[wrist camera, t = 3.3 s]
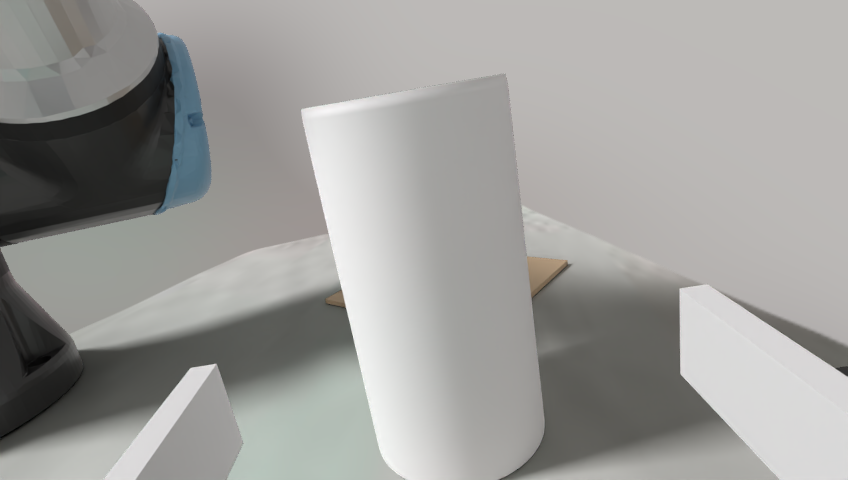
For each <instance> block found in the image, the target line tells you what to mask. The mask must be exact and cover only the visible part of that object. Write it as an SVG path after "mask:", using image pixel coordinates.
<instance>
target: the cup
mask: <svg viewBox="0 0 848 480" xmlns="http://www.w3.org/2000/svg"><path fill="white" fill-rule="evenodd" d="M301 114H302V121H303V125H304V130H305V134H306V138H307V143H308V147H309V151H310V155H311V160H312V164H313V168H314V173H315V177H316V181H317V186H318V190H319V194H320V198H321V202H322V207H323V211H324V215H325V219H326V224H327V228H328V232H329V237H330V241H331V245H332V249H333V254H334V258H335V262H336V266H337V271H338V275H339V279H340V283H341V288H342V292H343V296H344V300H345V305H346V309H347V313H348V318H349V322H350V326H351V330H352V335H353V339H354V343H355V347H356V352H357V356H358V360H359V364H360V369H361V373H362V377H363V381H364V386H365V390H366V394H367V398H368V403H369V407H370V411H371V415H372V420H373V424H374V428H375V432H376V437H377V441H378V445H379V449H380V452H381V455H382V457H383V459H384V460H385V462H386V463H387V465H388V466H389V467H390V468H391V469H392V470H393V471H394V472H395V473H397V474H398V475H400V476H401V477H403V478H405V479H406V480H499V479H501V478H503V477H505V476H507V475H509V474H511V473H512V472H514V471H516V470H517V469H518V468H520V467H521V466H522V465H523V464H525V463H526V462H527V461H528V460H529V459H530V458H531V457H532V456H533V454H534V453H535V452H536V450H537V449H538V447H539V445H540V443H541V441H542V438H543V435H544V429H545V418H544V409H543V400H542V391H541V382H540V372H539V363H538V354H537V345H536V336H535V327H534V318H533V308H532V299H531V290H530V281H529V272H528V263H527V254H526V244H525V235H524V226H523V217H522V208H521V199H520V190H519V180H518V172H517V163H516V154H515V144H514V135H513V126H512V118H511V108H510V100H509V90H508V83H507V78H506V74H499V75H493V76H487V77H481V78H475V79H469V80H464V81H458V82H452V83H446V84H440V85H435V86H429V87H423V88H418V89H412V90H406V91H400V92H395V93H389V94H384V95H377V96H372V97H366V98H360V99H355V100H349V101H343V102H338V103H332V104H327V105H321V106H316V107H310V108H304V109H301Z"/></svg>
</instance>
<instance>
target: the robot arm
mask: <svg viewBox="0 0 848 480" xmlns="http://www.w3.org/2000/svg"><path fill="white" fill-rule="evenodd" d="M202 117H203V113H202V108H201V99H200V95H199V90H198V86H197V81H196V77H195V73H194V69H193V66H192V62H191V59H190V56H189V53H188V50H187V47H186V45H185V44H184V42H183V41H182V39H180V38H179V37H177V36H173V35H166V34H163V33H157V31H156V29H155V26H154V23H153V22H152V20H151V19H150V17H149V16H148V14H147V13H146V12H145V11H144V9H143V8H142V7H140V6H139V5H138V4H137V3H136V2H134V1H133V0H0V247H3V246H7V245H12V244H17V243H19V242H24V241H29V240H33V239H39V238H43V237H48V236H53V235H58V234H62V233H67V232H72V231H76V230H81V229H86V228H90V227H95V226H100V225H105V224H110V223H114V222H119V221H124V220H129V219H133V218H138V217H142V216H147V215H152V214H153V215H157V214H161V213H163V212H164V211H166V210H167V209H169V208H174V207H177V206H181V205H184V204H187V203H191V202H195V201H197V200H199V199H200V198H202V197H203V196H204V195H205V194H206V193H207V191H208V189H209V187H210V184H211V160H210V152H209V144H208V138H207V132H206V127H205V123H204V121H203V119H202ZM82 370H83V361H82V359H81V357H80V355H79V352H78V350H77V348H76V345H75V343H74V341H73V339H72V338H71V336H70V335H69V334H68V333H67V332H66V331H65V330H64V329H63V328H62V327H61V326H60V325H59V324H58V323H57V322H56V321H55V320H54V319H53V318H52V317H51V316H50V315H49V314H48V313H47V312H45V310H44V309H43V308H42V307H41V306H40V305H39V304H38V303H37V302H36V301H35V300H34V299H33V298H32V297H31V296H30V295H29V294H28V293H26V291H24V289H23V288H21V286H20V285H19V284H18V283H17V282H16V281H15V279H14V278H13V276H12V274H11V272H10V270H9V268H8V265H7V263H6V261H5V259H4V257H3V254H2V252H1V249H0V437H2V436H3V435H5V434H7V433H9V432H10V431H12V430H14V429H15V428H17V427H19V426H20V425H22V424H23V423H25V422H27V421H28V420H30V419H31V418H33V417H34V416H36V415H37V414H39V413H40V412H42V411H43V410H44V409H46V408H47V407H48V406H50V405H51V404H52V403H54V402H55V401H56V400H57V399H58V398H60V397H61V396H62V395H63V394H64V393H65V392H66V391H67V390H68V389H69V388H70V387H71V386H72V385H73V384H74V383H75V382H76V380H77V379H78V378H79V376H80V374H81V372H82ZM680 374H681V375H682V376H683V377H684V379H685V380H686V381H687V382H688V383H689V384H690V385H691V386H692V387H693V388H694V389H695V390H696V391H697V392H698V393H699V394H700V395H701V397H702V398H703V399H704V400H705V401H706V402H707V403H708V404H709V405H710V406H711V407H712V408H713V409H714V410H715V411H716V412H717V413H718V415H719V416H720V417H721V418H722V419H723V420H724V421H725V422H726V423H727V424H728V425H729V426H730V427H731V428H732V429H733V430H734V432H735V433H736V434H737V435H738V436H739V437H740V438H741V439H742V440H743V441H744V442H745V443H746V444H747V445H748V446H749V447H750V448H751V450H752V451H753V452H754V453H755V454H756V455H757V456H758V457H759V458H760V459H761V460H762V461H763V462H764V463H765V464H766V465H767V467H768V468H769V469H770V470H771V471H772V472H773V473H774V474H775V475H776V476H777V477H778V478H779V479H780V480H848V367H840V368H833V367H832V366H830V365H829V364H827V363H826V362H824V361H823V360H821V359H820V358H818V357H817V356H815V355H814V354H812V353H811V352H809V351H808V350H806V349H805V348H803V347H802V346H800V345H799V344H797V343H796V342H794V341H793V340H791V339H790V338H788V337H787V336H785V335H784V334H782V333H781V332H779V331H777V330H776V329H774V328H773V327H771V326H770V325H768V324H767V323H765V322H764V321H762V320H761V319H759V318H758V317H756V316H755V315H753V314H752V313H750V312H749V311H747V310H746V309H744V308H743V307H741V306H740V305H738V304H737V303H735V302H734V301H732V300H731V299H729V298H728V297H726V296H725V295H723V294H721V293H720V292H718V291H717V290H715V289H714V288H712V287H711V286H709V285H708V284H705V285H698V286H692V287H686V288H680ZM242 445H243V440H242V437H241V434H240V431H239V428H238V425H237V422H236V419H235V416H234V413H233V410H232V407H231V404H230V401H229V398H228V395H227V392H226V389H225V386H224V383H223V380H222V377H221V374H220V372H219V369H218V366H217V364H212V365H206V366H199V367H193V368H190V369H189V371H188V372H187V373H186V374H185V376H184V377H183V378H182V379H181V381H180V382H179V383H178V385H177V386H176V387H175V388H174V390H173V391H172V392H171V393H170V395H169V396H168V397H167V399H166V400H165V401H164V402H163V404H162V405H161V406H160V407H159V409H158V410H157V411H156V412H155V414H154V415H153V416H152V418H151V419H150V420H149V421H148V423H147V424H146V425H145V426H144V428H143V429H142V430H141V432H140V433H139V434H138V435H137V437H136V438H135V439H134V440H133V442H132V443H131V444H130V446H129V447H128V448H127V449H126V451H125V452H124V453H123V454H122V456H121V457H120V458H119V460H118V461H117V462H116V463H115V465H114V466H113V467H112V468H111V470H110V471H109V472H108V474H107V475H106V476H105V477H104V479H103V480H226V479H227V477H228V475H229V473H230V471H231V469H232V467H233V465H234V462H235V460H236V458H237V456H238V454H239V452H240V450H241V448H242Z"/></svg>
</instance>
